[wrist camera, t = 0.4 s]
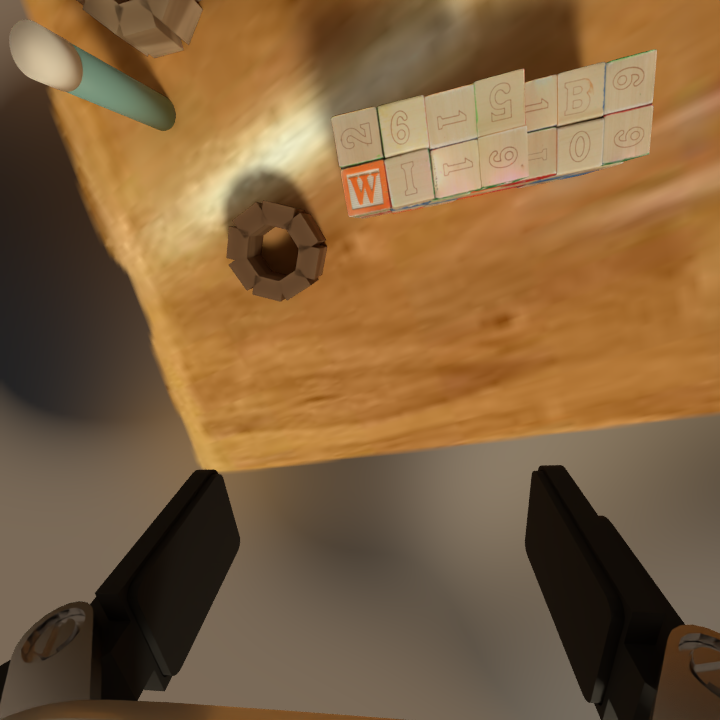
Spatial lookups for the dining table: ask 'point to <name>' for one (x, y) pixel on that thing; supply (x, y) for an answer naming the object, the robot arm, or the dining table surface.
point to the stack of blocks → (494, 135)
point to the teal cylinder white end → (86, 76)
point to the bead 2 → (249, 246)
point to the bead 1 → (148, 22)
